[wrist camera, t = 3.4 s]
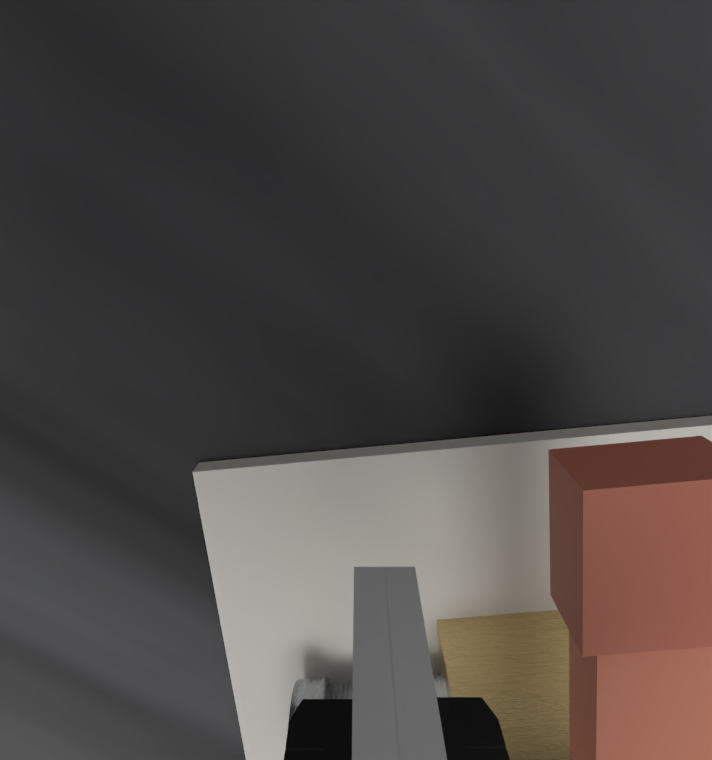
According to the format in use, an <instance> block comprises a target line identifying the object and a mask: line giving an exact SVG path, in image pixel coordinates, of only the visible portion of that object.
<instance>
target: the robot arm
mask: <svg viewBox="0 0 712 760" xmlns="http://www.w3.org/2000/svg"><path fill="white" fill-rule="evenodd" d="M284 760H510V758H509V755H508V751H507V749H506V744H505V741H504V737H503V734H502V730H501V727H500V723H499V720H498V718H497V717H496V715H495V714H494V713H493V711H492V710H491V709H490V708H489V706H488V705H487V704H486V702H485V701H484V700H483V698H482V697H437V696H436V690H435V684H434V678H433V672H432V666H431V660H430V654H429V648H428V642H427V636H426V630H425V624H424V618H423V612H422V606H421V600H420V594H419V588H418V582H417V576H416V570H415V567H354V609H353V696H352V699H302V701H301V703H300V704H299V706H298V707H297V709H296V711H295V712H294V714H293V715H292V717H291V719H290V720H289V725H288V733H287V740H286V750H285V754H284Z"/></svg>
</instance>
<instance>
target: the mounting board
mask: <svg viewBox="0 0 712 760" xmlns="http://www.w3.org/2000/svg"><path fill="white" fill-rule="evenodd" d="M692 436H703V437H705V438H706V439H708V440H710V441H711V442H712V416H702V417H691V418H680V419H669V420H658V421H647V422H636V423H625V424H614V425H604V426H593V427H582V428H571V429H560V430H549V431H538V432H527V433H516V434H505V435H494V436H483V437H472V438H461V439H450V440H439V441H428V442H417V443H406V444H395V445H384V446H374V447H363V448H352V449H341V450H330V451H319V452H308V453H297V454H286V455H275V456H264V457H253V458H242V459H231V460H220V461H209V462H199V463H198V465H197V466H196V468H195V469H194V471H193V472H192V473H193V478H194V483H195V489H196V494H197V500H198V505H199V510H200V516H201V521H202V526H203V532H204V537H205V542H206V548H207V553H208V558H209V564H210V569H211V575H212V580H213V585H214V591H215V596H216V601H217V607H218V612H219V617H220V623H221V628H222V634H223V639H224V644H225V650H226V655H227V660H228V666H229V671H230V676H231V682H232V687H233V693H234V698H235V703H236V709H237V714H238V719H239V725H240V730H241V735H242V741H243V746H244V752H245V757H246V760H284V754H285V750H286V740H287V733H288V722H289V712H290V704H291V697H292V692H293V688H294V685H295V683H296V681H297V680H298V679H306V678H318V677H327V678H328V679H329V682H330V683H340V682H353V609H354V567H415V570H416V576H417V582H418V588H419V594H420V600H421V606H422V612H423V618H424V624H425V630H426V636H427V642H428V648H429V654H430V660H431V666H432V672H433V675H440V661H439V648H438V634H437V620H441V619H453V618H465V617H477V616H489V615H502V614H514V613H526V612H538V611H550V610H558V609H557V607H556V605H555V603H554V601H553V599H552V597H551V595H550V529H549V453H548V449H559V448H570V447H581V446H592V445H603V444H614V443H626V442H637V441H648V440H659V439H670V438H681V437H692Z"/></svg>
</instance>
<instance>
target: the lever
mask: <svg viewBox="0 0 712 760" xmlns="http://www.w3.org/2000/svg"><path fill="white" fill-rule="evenodd" d="M548 453H549V529H550V595H551V597H552V599H553V601H554V603H555V605H556V607H557V609H558V611H559V612H560V614H561V616H562V618H563V620H564V622H565V624H566V626H567V628H568V630H569V760H712V442H711V441H710V440H708V439H706V438H705V437H703V436H692V437H681V438H670V439H659V440H648V441H637V442H626V443H614V444H603V445H592V446H581V447H570V448H559V449H548Z"/></svg>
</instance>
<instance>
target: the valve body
mask: <svg viewBox="0 0 712 760" xmlns="http://www.w3.org/2000/svg"><path fill="white" fill-rule="evenodd" d="M437 634H438V648H439V661H440V675H433V678H434V684H435V690H436V696H437V697H482V698H483V700H484V701H485V702H486V704H487V705H488V706H489V708H490V709H491V710H492V711H493V713H494V714H495V715H496V717H497V718H498V720H499V723H500V727H501V730H502V734H503V737H504V741H505V744H506V749H507V751H508V755H509V758H510V760H569V630H568V628H567V626H566V624H565V622H564V620H563V618H562V616H561V614H560V612H559V611H558V610H550V611H538V612H526V613H514V614H502V615H489V616H477V617H465V618H453V619H441V620H437ZM352 696H353V682H340V683H330V682H329V679H328V678H327V677H318V678H306V679H298V680H297V681H296V683H295V685H294V688H293V692H292V697H291V704H290V712H289V720H290V719H291V717H292V715H293V714H294V712H295V711H296V709H297V707H298V706H299V704H300V703H301V701H302V699H352ZM288 725H289V722H288Z"/></svg>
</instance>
